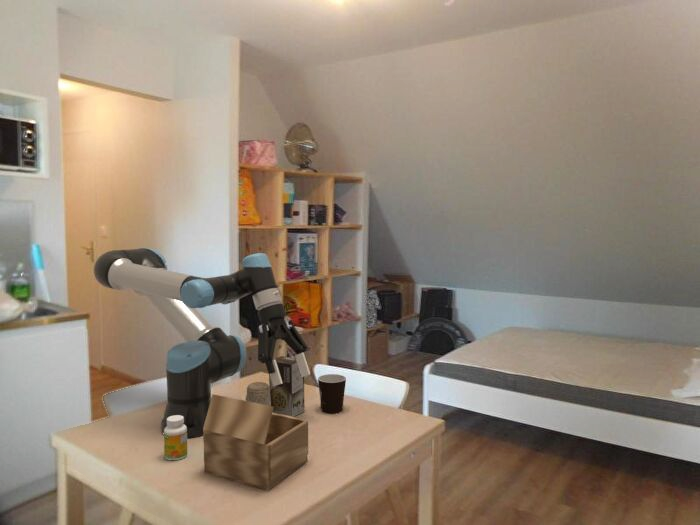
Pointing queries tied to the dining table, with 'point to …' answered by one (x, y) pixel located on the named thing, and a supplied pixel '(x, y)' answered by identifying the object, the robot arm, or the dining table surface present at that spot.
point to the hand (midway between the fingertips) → (292, 380)
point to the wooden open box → (259, 453)
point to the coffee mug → (331, 392)
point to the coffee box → (288, 388)
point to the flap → (238, 418)
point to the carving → (259, 393)
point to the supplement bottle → (175, 438)
